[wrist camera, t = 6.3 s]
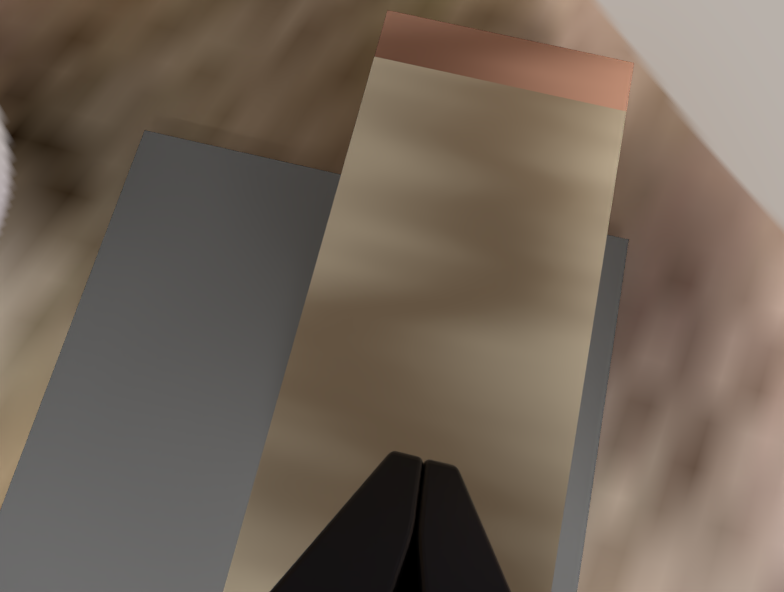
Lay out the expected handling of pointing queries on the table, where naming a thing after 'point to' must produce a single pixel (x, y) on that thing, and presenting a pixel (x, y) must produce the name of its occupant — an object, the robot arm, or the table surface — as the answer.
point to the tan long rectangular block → (450, 293)
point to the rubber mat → (200, 379)
